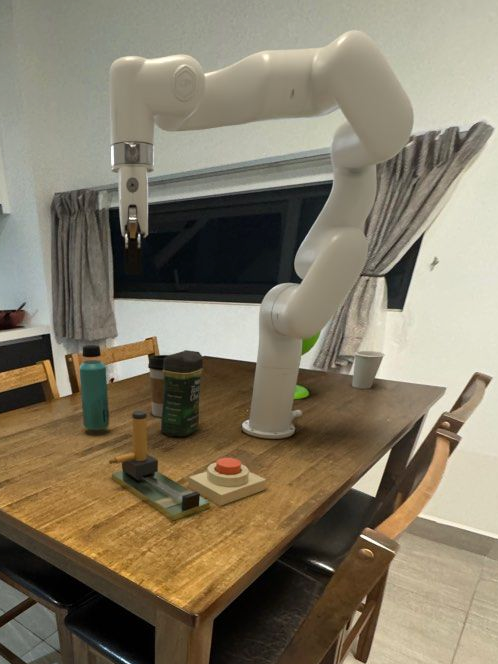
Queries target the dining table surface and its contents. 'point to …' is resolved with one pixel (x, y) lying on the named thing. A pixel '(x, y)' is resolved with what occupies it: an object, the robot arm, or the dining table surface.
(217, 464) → the button
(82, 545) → the dining table surface
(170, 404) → the coffee jar
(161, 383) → the coffee cup
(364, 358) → the dixie cup
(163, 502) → the rail
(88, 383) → the beverage bottle
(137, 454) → the nozzle
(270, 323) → the robot arm
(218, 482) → the button box
